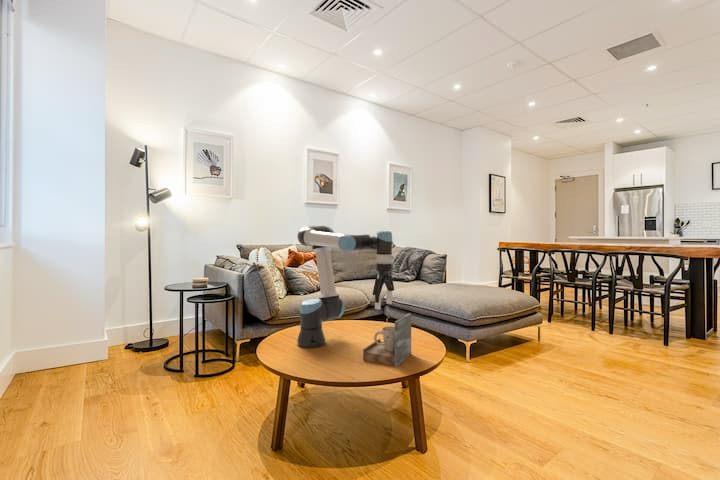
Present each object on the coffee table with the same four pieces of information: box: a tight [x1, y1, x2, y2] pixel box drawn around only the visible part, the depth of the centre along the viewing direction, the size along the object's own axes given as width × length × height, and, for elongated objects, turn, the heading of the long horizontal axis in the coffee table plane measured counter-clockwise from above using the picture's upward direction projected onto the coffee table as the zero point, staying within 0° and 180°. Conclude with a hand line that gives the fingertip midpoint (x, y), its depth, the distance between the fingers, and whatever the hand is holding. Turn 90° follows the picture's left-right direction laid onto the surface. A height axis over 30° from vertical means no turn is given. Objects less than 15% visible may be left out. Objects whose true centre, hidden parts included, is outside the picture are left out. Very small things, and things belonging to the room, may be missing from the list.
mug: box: [373, 325, 395, 351], centre depth 170 cm, size 8×13×10 cm, turn 79°
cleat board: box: [362, 313, 412, 367], centre depth 171 cm, size 18×18×20 cm
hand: (383, 306), depth 173 cm, fingers open, 13 cm apart
